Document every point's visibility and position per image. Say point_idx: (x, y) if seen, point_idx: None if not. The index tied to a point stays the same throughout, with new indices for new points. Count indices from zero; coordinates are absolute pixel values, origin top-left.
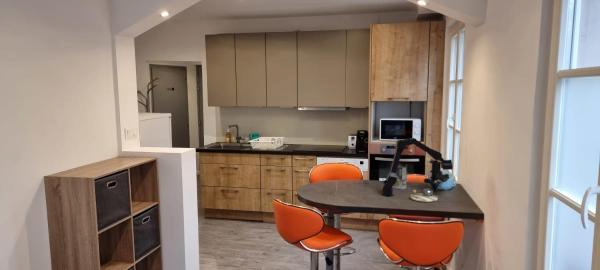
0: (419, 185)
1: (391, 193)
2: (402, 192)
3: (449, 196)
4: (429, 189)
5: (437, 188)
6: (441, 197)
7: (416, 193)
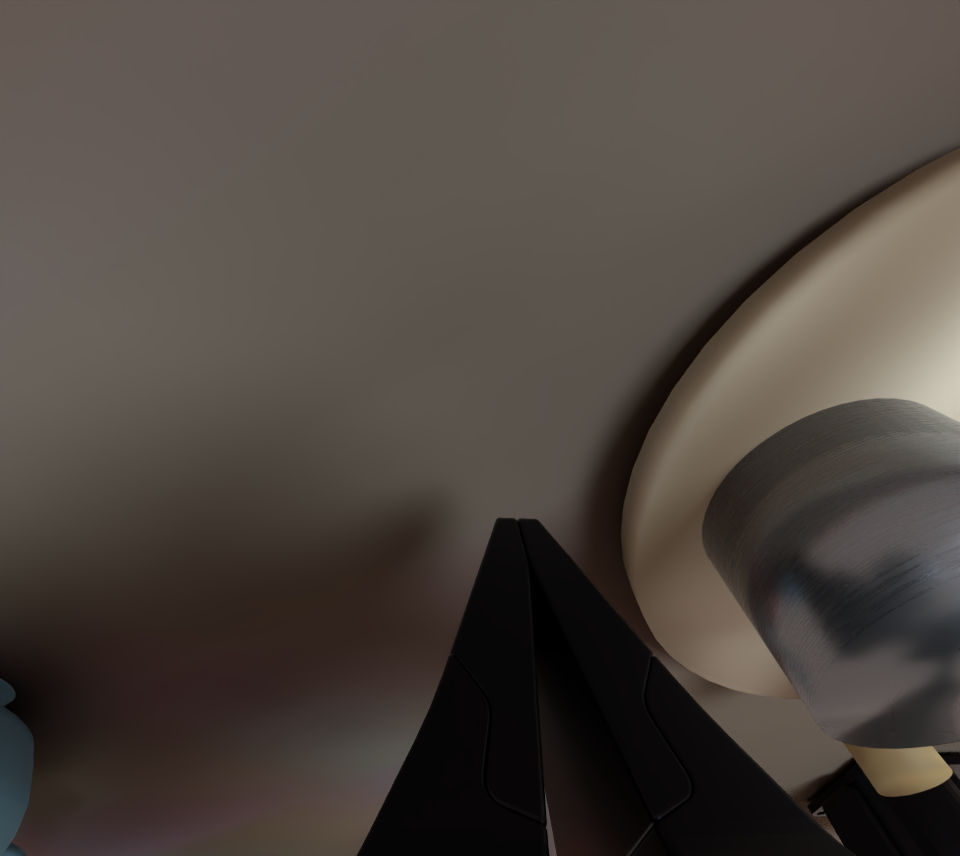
0: (109, 844)
1: (921, 796)
2: None
3: (115, 155)
4: (942, 656)
5: (475, 604)
6: (478, 278)
7: (759, 684)
